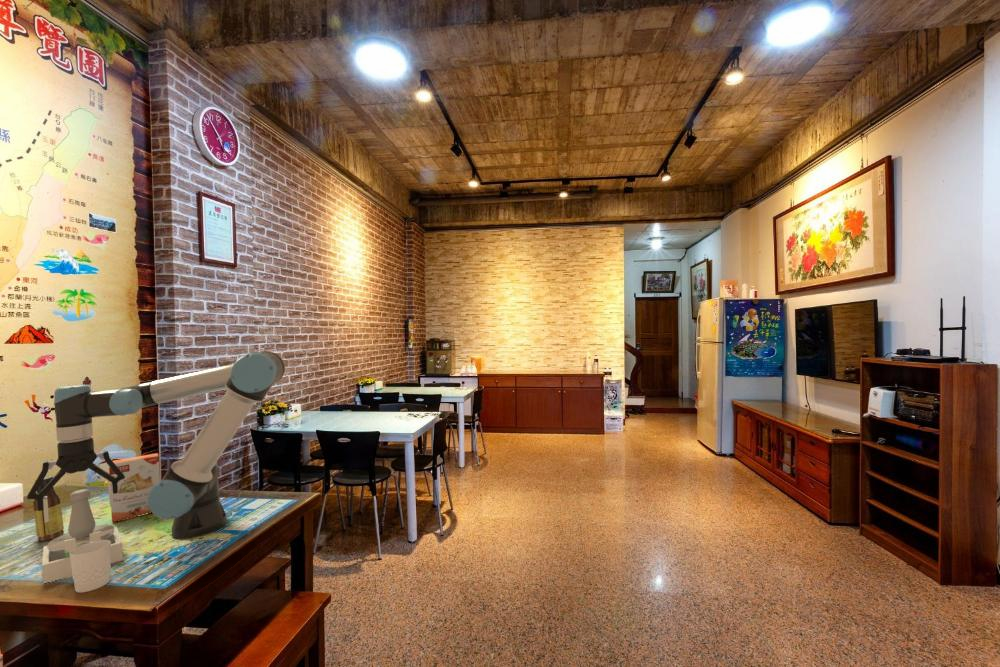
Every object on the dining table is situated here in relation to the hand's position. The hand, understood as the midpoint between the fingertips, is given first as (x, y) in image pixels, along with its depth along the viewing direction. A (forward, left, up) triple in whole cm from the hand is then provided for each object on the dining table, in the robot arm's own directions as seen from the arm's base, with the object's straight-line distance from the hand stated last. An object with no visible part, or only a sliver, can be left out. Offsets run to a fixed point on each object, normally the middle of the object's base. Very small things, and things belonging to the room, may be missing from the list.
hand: (80, 512), depth 128 cm
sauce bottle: (+32, -7, -14) cm, 36 cm away
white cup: (-18, +7, -14) cm, 24 cm away
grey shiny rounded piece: (-2, +1, -13) cm, 13 cm away
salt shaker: (0, 0, -7) cm, 7 cm away
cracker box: (+22, -27, -14) cm, 38 cm away
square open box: (0, 0, -14) cm, 14 cm away
